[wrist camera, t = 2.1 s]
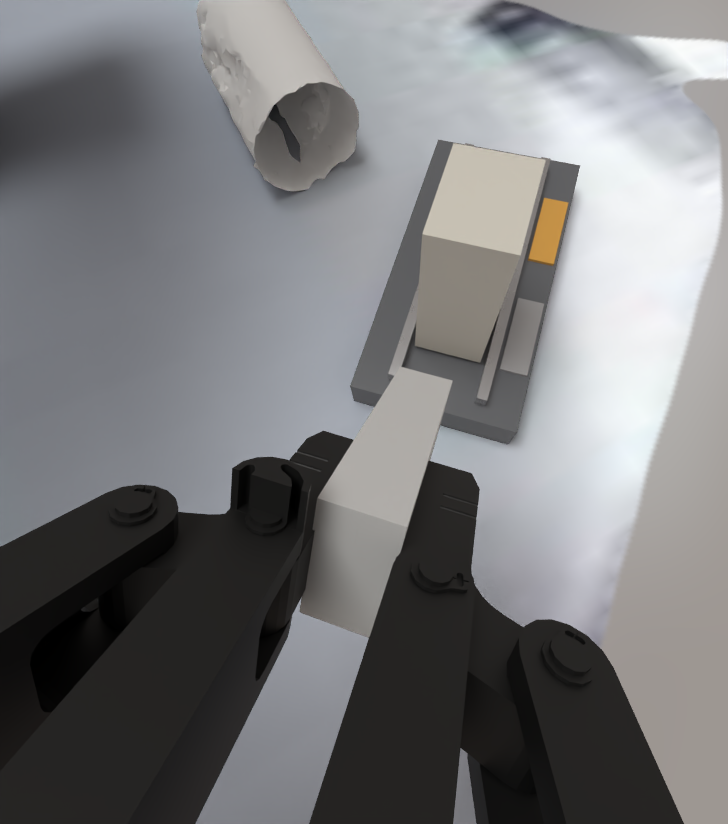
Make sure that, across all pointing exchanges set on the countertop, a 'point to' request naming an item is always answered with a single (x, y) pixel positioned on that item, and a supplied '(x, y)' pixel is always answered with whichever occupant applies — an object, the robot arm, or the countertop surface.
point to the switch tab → (473, 247)
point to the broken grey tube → (277, 89)
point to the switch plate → (513, 330)
